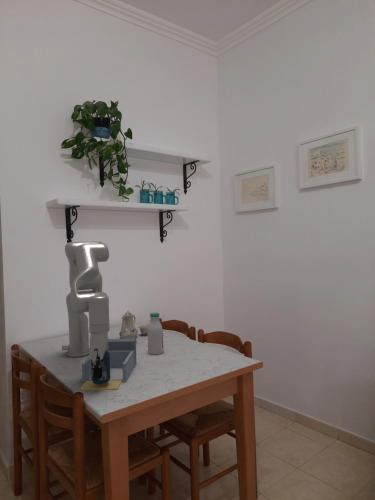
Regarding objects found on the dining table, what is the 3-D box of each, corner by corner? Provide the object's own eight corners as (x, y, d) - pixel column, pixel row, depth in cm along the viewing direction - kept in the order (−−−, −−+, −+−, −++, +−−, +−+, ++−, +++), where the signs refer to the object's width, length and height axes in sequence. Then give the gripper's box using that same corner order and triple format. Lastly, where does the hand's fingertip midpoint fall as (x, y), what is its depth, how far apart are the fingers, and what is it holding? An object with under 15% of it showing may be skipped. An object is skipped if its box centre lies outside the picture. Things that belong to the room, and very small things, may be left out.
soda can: (100, 377, 141) (100, 347, 140) (114, 380, 137) (113, 349, 137) (87, 383, 135) (86, 352, 134) (101, 386, 131) (100, 354, 131)
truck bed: (82, 384, 140) (81, 354, 140) (98, 365, 162) (98, 339, 162) (126, 384, 139) (125, 353, 139) (136, 364, 162) (135, 338, 161)
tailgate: (87, 383, 141) (80, 392, 133) (87, 379, 141) (80, 388, 133) (122, 382, 141) (117, 391, 132) (122, 379, 141) (117, 388, 132)
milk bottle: (161, 355, 175) (159, 314, 174) (146, 354, 176) (144, 314, 176) (165, 350, 182) (164, 311, 182) (150, 350, 184) (149, 311, 183)
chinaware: (133, 348, 192) (135, 318, 192) (107, 343, 198) (108, 314, 197) (155, 335, 219) (157, 309, 218) (131, 331, 224) (132, 305, 223)
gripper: (96, 322, 144) (97, 366, 145) (81, 333, 127) (83, 383, 127) (114, 322, 144) (116, 366, 144) (102, 333, 127) (104, 383, 127)
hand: (100, 373), depth 136 cm, fingers closed on soda can, 6 cm apart
